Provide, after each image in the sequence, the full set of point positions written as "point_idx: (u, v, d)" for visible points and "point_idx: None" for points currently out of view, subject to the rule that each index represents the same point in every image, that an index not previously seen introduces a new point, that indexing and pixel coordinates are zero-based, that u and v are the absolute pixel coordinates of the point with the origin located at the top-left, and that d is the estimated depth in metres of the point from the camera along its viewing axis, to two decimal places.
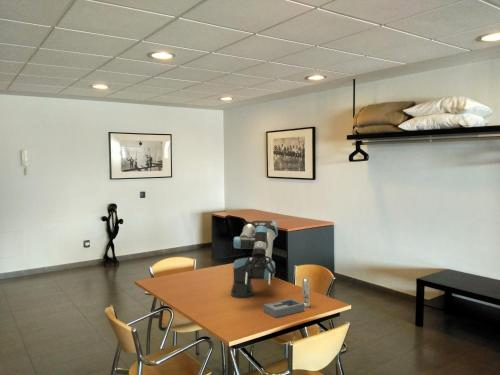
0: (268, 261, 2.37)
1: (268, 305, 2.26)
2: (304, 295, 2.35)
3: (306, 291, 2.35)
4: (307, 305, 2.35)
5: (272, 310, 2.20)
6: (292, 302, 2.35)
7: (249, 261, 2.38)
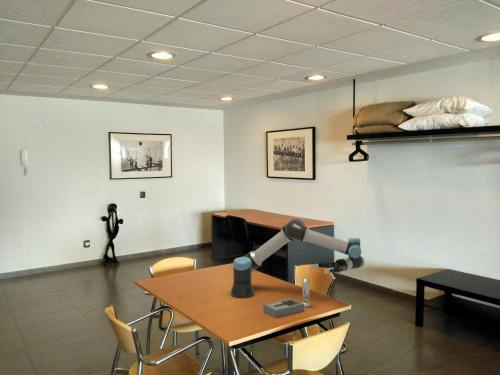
0: None
1: (268, 305, 2.26)
2: (304, 295, 2.35)
3: (306, 291, 2.35)
4: (307, 305, 2.35)
5: (272, 310, 2.20)
6: (292, 302, 2.35)
7: None
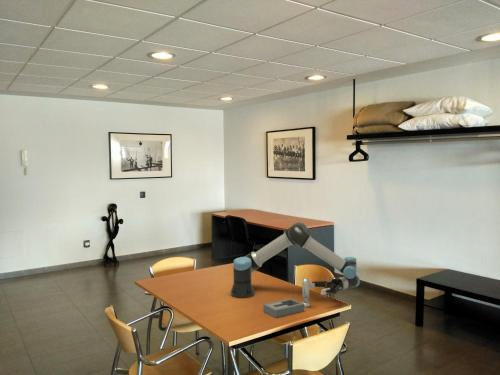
0: None
1: (268, 305, 2.26)
2: (304, 295, 2.35)
3: (306, 291, 2.35)
4: (307, 305, 2.35)
5: (272, 310, 2.20)
6: (292, 302, 2.35)
7: None
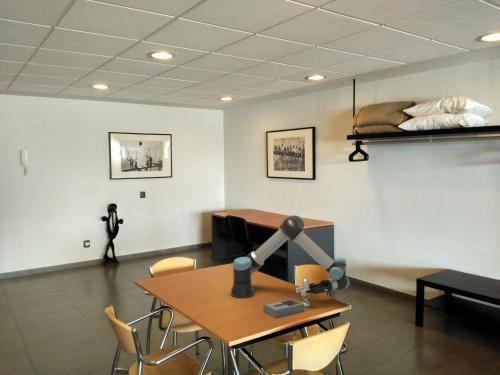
0: None
1: (268, 305, 2.26)
2: (304, 295, 2.35)
3: None
4: (307, 305, 2.35)
5: (272, 310, 2.20)
6: (292, 302, 2.35)
7: None
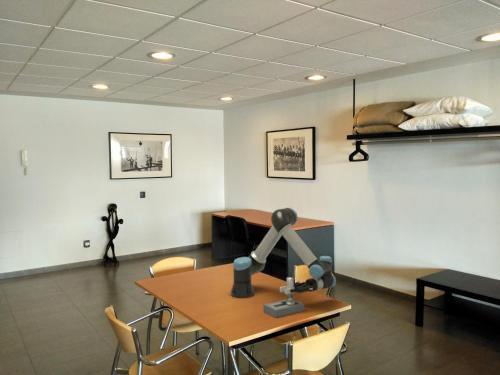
0: None
1: (268, 305, 2.26)
2: (288, 294, 2.29)
3: None
4: (291, 304, 2.28)
5: (272, 310, 2.20)
6: None
7: None
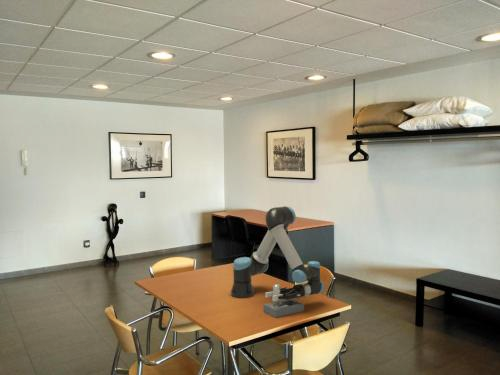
0: None
1: (268, 305, 2.26)
2: (274, 301, 2.24)
3: None
4: None
5: (272, 310, 2.20)
6: (292, 302, 2.35)
7: None
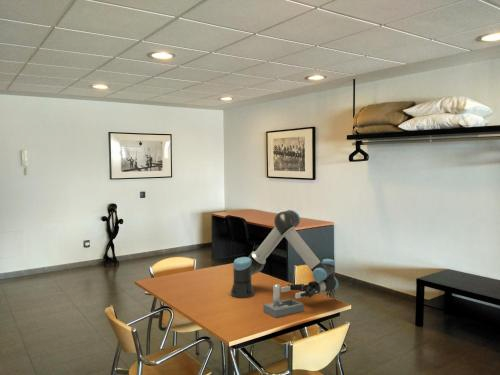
0: None
1: (268, 305, 2.26)
2: (274, 301, 2.24)
3: (277, 297, 2.23)
4: None
5: (272, 310, 2.20)
6: (292, 302, 2.35)
7: None
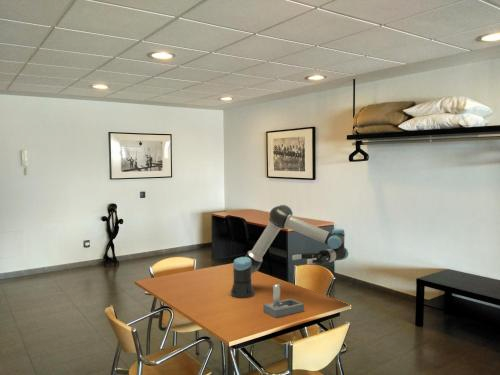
0: None
1: (268, 305, 2.26)
2: (274, 301, 2.24)
3: (277, 297, 2.23)
4: None
5: (272, 310, 2.20)
6: (292, 302, 2.35)
7: None
